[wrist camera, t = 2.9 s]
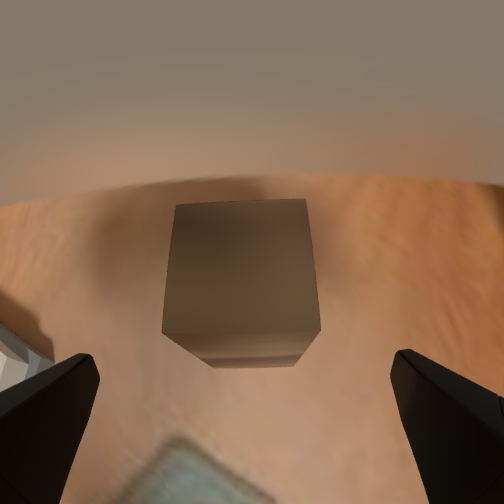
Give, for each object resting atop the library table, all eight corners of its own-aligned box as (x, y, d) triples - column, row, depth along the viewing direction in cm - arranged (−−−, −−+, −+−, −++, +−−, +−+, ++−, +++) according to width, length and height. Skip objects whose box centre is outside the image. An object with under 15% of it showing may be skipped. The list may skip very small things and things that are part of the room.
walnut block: (293, 366, 18) (321, 329, 9) (213, 367, 18) (161, 332, 9) (289, 292, 20) (305, 198, 11) (215, 294, 20) (176, 204, 11)
